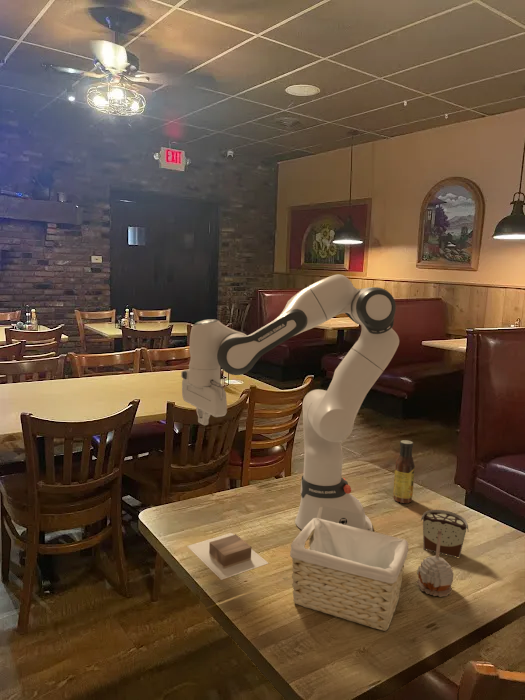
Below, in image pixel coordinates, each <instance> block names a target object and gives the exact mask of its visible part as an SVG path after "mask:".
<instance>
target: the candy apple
mask: <svg viewBox="0 0 525 700" xmlns="http://www.w3.org/2000/svg"><path fill="white" fill-rule="evenodd" d="M441 533H442V531H441V530H438V538H437V548H436V552H435V555H432V556H431V555H430V556H429V555H428V556H427V557H426V558H424V559H423V560H422V561H420V565H418V569H417V572H416V575H418V576H417V577H418V579H417V581H416V584H417V587H418V588H419V589H420V590H421V592H425V594H427V595H428V594H429V595H430V596H434V597H435V596H438V597H439V598H440V597H447V596H449V595H450V594H451V593H452V590H453V588H452V584H453V581H454V572H453V569H452V566H451V564H450V563H448V561H446V560H445V559H444V558H443V557H440V553H439V552H440V543H441Z"/></svg>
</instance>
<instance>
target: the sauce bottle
mask: <svg viewBox="0 0 525 700" xmlns="http://www.w3.org/2000/svg"><path fill="white" fill-rule="evenodd" d="M399 447H400V448H399V449H400V450H399V456H398V457H397V458H396V460H395V468H394V478H393V492H392V494H393V500H394V501H395V502H396V503H399V502H400V504H409V503H411V502H412V501H413V495H414V485H415V484H414V482H415V470H416V469H415V467H416V466H415V462H414V458H413V448H414V442H413V441H411V440H408V439H407V440H406V439H405V440H400V443H399Z"/></svg>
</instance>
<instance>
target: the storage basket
mask: <svg viewBox="0 0 525 700" xmlns="http://www.w3.org/2000/svg"><path fill="white" fill-rule="evenodd" d="M307 541H308V548H305V546H306V542H307ZM408 554H409V542H408V540H407V539H405V538H400V537H396V536H392V535H389V534H384V533H380V532H376V531H368V530H364V529H359V528H355V527H351V526H347V525H343V524H339V523H335V522H331V521H327V520H323V519H319V518H313V519H312V520H311V521H310V522H309V523H308V524H307V525H306V526H305V527H304V529H303V530H301V531H300V532H299V533H298V535H297V536H296V537H295V538H294V539H293V541H292V542H291V544H290V552H289V555H290V558H291V560H292V571H291V572H292V575H291V578H292V589H293V590H292V597H293V599H292V600H293V603H294V604H296V605H298V606H301V607H304V608H306V609H311V610H313V611H318V612H321V613H323V614H328V615H331V616H333V617H336V618H337V617H338V618H341V619H344V620H347V621H348V622H349V621H350V622H354V623H357V624H359V625H363V626H366V627H370V628H372V629H377V630H380V631H385V632H386V631H387V630H388V629H389V627H390V624H391V623H392V622H391V621H392V619H393V617H394V614H395V612H396V607H397V605H398V602H399V599H400V593H401V592H400V591H401V586H402V582H403V580H402V578H403V574H404V568H405V566H404V564H405V561H406V559H407V557H408Z"/></svg>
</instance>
